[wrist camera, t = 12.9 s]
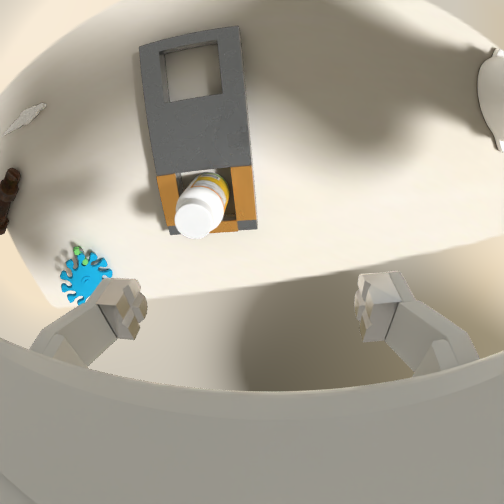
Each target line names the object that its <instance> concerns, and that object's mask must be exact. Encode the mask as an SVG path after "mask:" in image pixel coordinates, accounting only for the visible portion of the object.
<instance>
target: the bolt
mask: <svg viewBox="0 0 504 504" xmlns="http://www.w3.org/2000/svg"><path fill="white" fill-rule="evenodd" d="M19 179H20V173H19V171H18V170H17V169H14V168H10V169H8V171H7V173H6V175H5V178H4V180H2V181H1V183H0V235H2V234H4V233H5V231H6V228H7V225H8V222H9V221H8V219H7V218H6V215H7V212H8V209H9V206H10V203H11V201H14V199H15V196H16V194H17V191H18V186H17V184H18V181H19Z"/></svg>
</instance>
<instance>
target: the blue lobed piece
mask: <svg viewBox="0 0 504 504" xmlns="http://www.w3.org/2000/svg"><path fill="white" fill-rule="evenodd" d="M73 251H74V253H75V255H76V260H77V264H78V267H77V268H76V269H73V265H74V263H73V260H72V259H70V260H68V261H67V262H66V265H67V267H68V268H70V269H71V271H72V276H71V277H68V276H67V273H66V271H64V270H63V271H62V272H61V275H60V277H61V279H63V280H68V281H70V282H71V283H72V285H71V286H67V285H66V284H65V283H62V285H61V288H62V292H66V291H69V290H72V291H76V293H75V294H68V295H67V297H68V300H69V301H70V303H71V302H73V301H74V299H75V298H77V297H78V296H83V298H82V299H79V300H78V301H77V303H78V305H80V304H82V303H85V300H86V299H87V298H88V297H89V296H91V294H92V293H93V292H94V290H95V289H96V287H97V286H98V285H99V283H100V282H101V281H102V276H103V275H106V276H107V277H109V278H111V277H112V270H111V269H107V270H105V271H100V270H98V268H99V267H106V266H107V262H106V260H105V259H104V258H102V259H101V260H100V262H99V263H97V264H95V265H91V262H92V261H95V260H97V255H96V254H95V253H93V252H91V253H90V257H89V260H87V258H86V257H85V255H84V251H83V249H81V248H79V247H74V249H73Z"/></svg>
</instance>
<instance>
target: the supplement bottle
mask: <svg viewBox="0 0 504 504" xmlns="http://www.w3.org/2000/svg"><path fill="white" fill-rule="evenodd" d="M229 196H230V189H229V186H228V183H227V182H226V180H225V179H224V178H223V177H222V176H220V175H218V174H216V173H212V172H206V173H202V174H200V175H198V176H197V177H196V178H195V179H194V180H193V181H192V182H191V183H190V184H189V186H188V187H187V188H186V189H185V191H184V192H183V193H182V194H181V196H180V197H179V199H178V201H177V204H176V214H175V225H176V228H177V230H178V231H179V232H180V233H181V234H182V235H183V236H185V237H187V238H190V239H200V238H203V237H205V236H206V235H208V234H209V232H210V231H212V230H214V229H215V228H216V227H217V226H218V225H219V224H220V222H221V220H222V218H223V215H224V212H225V209H226V206H227V203H228V200H229Z"/></svg>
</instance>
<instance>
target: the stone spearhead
mask: <svg viewBox="0 0 504 504" xmlns="http://www.w3.org/2000/svg"><path fill="white" fill-rule="evenodd" d="M46 106H47V104H45V103H40V104H39V105H37V106H35V105H34V106H32V107H31V108H28V109H25V110H24V111H22V113H21V114H20V116H19V118H18V119H17V120H16V121H14V122H13V124H12V125H11V126H10V127H9V128H8V129H7V130H6V132H5V133H4V134H3V135H2V137H3V136H5V135H6V134H8V133H10V132H12V131H13V130H16V129H17V128H19V127H21V126H22V125H27V124H28V123H30V122H31V121H32V119H33V118H34V117H36V116H37V115H38V114H39V112H40V111H41V110H43V109H44V108H45V107H46Z"/></svg>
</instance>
